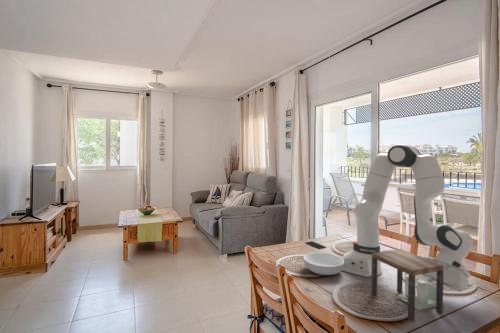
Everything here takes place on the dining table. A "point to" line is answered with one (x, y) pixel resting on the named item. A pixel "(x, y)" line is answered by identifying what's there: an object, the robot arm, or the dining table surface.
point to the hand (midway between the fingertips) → (429, 288)
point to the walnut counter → (412, 267)
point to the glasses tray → (430, 297)
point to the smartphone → (315, 245)
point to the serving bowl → (323, 263)
